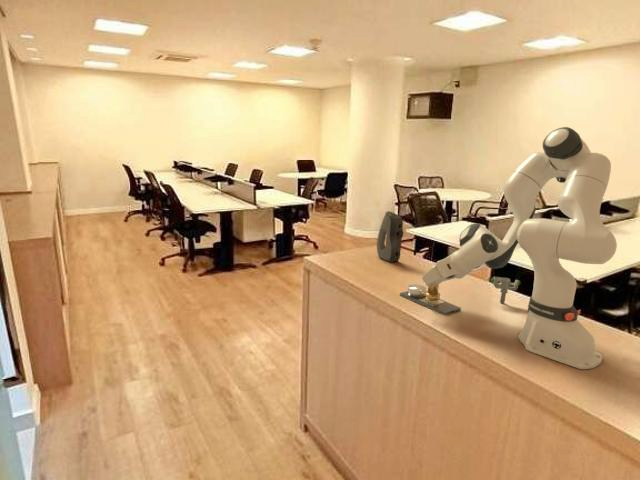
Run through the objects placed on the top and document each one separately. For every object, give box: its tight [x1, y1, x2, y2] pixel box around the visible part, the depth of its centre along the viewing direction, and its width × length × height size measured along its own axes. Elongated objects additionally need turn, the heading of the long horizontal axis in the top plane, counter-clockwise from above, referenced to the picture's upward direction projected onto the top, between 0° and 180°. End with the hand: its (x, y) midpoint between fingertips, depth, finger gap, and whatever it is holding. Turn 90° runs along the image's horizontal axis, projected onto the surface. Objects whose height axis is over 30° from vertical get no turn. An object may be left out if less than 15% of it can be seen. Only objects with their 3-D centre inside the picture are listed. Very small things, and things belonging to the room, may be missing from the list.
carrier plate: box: [399, 283, 462, 316], centre depth 158 cm, size 22×9×4 cm, turn 36°
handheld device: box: [376, 210, 404, 264], centre depth 211 cm, size 6×15×25 cm, turn 36°
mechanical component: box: [490, 276, 521, 305], centre depth 160 cm, size 3×10×10 cm, turn 79°
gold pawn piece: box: [425, 283, 441, 301], centre depth 156 cm, size 6×6×9 cm
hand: (432, 283), depth 156 cm, fingers closed on gold pawn piece, 4 cm apart
